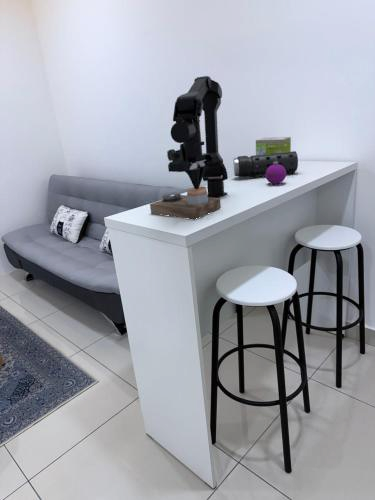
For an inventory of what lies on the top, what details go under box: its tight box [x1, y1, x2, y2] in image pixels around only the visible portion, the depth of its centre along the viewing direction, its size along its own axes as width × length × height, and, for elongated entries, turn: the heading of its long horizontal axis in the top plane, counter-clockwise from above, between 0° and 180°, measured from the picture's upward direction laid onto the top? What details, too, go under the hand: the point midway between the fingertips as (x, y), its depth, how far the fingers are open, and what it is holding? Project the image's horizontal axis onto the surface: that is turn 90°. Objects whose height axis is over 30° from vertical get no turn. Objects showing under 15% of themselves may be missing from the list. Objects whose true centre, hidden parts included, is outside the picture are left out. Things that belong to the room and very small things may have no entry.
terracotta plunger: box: [186, 186, 208, 206], centre depth 117 cm, size 6×6×5 cm
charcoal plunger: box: [161, 191, 181, 203], centre depth 126 cm, size 6×6×5 cm
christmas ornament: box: [265, 160, 287, 185], centre depth 146 cm, size 8×8×10 cm
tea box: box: [255, 136, 292, 155], centre depth 181 cm, size 15×10×15 cm, turn 53°
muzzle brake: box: [233, 150, 299, 179], centre depth 163 cm, size 10×28×10 cm, turn 89°
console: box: [149, 194, 222, 220], centre depth 122 cm, size 14×20×4 cm
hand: (196, 188), depth 116 cm, fingers closed, pressing on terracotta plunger
